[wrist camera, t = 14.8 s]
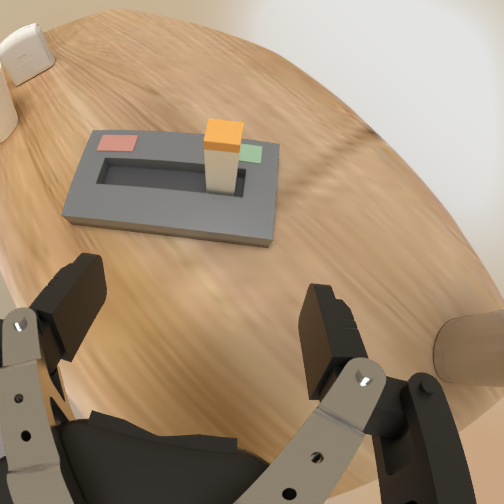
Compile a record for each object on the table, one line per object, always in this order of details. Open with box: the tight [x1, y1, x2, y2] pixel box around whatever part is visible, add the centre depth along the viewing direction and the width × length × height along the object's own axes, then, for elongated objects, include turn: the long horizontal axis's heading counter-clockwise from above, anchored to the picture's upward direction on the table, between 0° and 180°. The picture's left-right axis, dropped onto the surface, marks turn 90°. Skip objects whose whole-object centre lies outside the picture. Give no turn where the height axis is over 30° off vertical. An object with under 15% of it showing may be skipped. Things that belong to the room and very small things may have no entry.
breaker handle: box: [203, 119, 244, 197], centre depth 27 cm, size 3×2×10 cm
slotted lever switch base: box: [62, 130, 280, 248], centre depth 32 cm, size 24×12×3 cm, turn 84°
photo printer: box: [0, 23, 55, 86], centre depth 31 cm, size 10×4×12 cm, turn 112°
